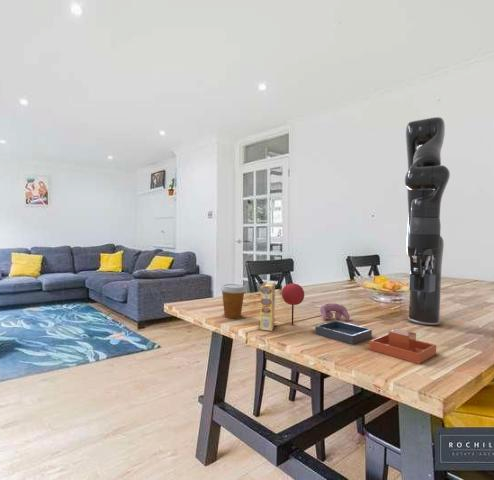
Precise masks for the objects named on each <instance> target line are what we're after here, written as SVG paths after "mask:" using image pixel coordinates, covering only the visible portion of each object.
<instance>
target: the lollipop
mask: <svg viewBox="0 0 494 480" xmlns="http://www.w3.org/2000/svg"><path fill="white" fill-rule="evenodd" d="M281 297H282V300H283V301H284V303H286V304H288V305H291V326H294V306H298V305H300V304H301V303H302V302H303V301H304V299H305V290H304V288H303V287H302V286H301V285H299V284H298V283H287V284H285V285H284V286H283V287H282V290H281Z"/></svg>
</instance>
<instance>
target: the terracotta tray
mask: <svg viewBox="0 0 494 480" xmlns="http://www.w3.org/2000/svg"><path fill="white" fill-rule="evenodd" d="M368 349H369V350H370V351H374V352H377V353H380V354H383V355H387V356H391V357H395V358H397V359H401V360H405V361H407V362H410V363H411V362H412V363H415V364H418V365H419V364H422V363H424V362H425V361H426V360H428V359H430V358H432V357H433V356H435V355H437V344H433V343H429V342H425V341H421V340H417V339H416V351H414V352H412V351H409V350H405V349H401V348H398V347H394V346H390V345H389V333H386V334H383V335H381V336H378V337H375V338H373V339H371V340H369V348H368Z"/></svg>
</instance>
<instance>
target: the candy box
mask: <svg viewBox="0 0 494 480" xmlns="http://www.w3.org/2000/svg"><path fill="white" fill-rule="evenodd" d="M275 305H276V282H270V281H264V282H263V283H262V284H261V285H260V320H259V321H260V322H259V323H260V324H259V325H260V328H259V330H260V331H269V332H270V331H271V332H272V331H273V329H274V326H275V308H276V307H275Z"/></svg>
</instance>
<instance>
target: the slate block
mask: <svg viewBox="0 0 494 480" xmlns="http://www.w3.org/2000/svg"><path fill="white" fill-rule="evenodd" d="M435 280H436V275H433V274H424V288H423V290H416V289H414V277H413V275H411V273H409V289H408V290H409V291H410V290H412V291H419V292H427V293H430V292H434V291H435Z"/></svg>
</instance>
